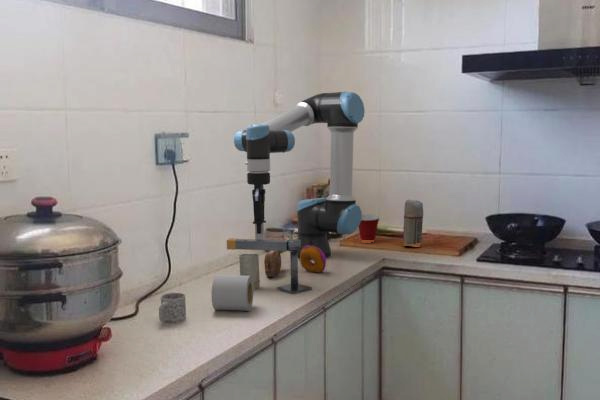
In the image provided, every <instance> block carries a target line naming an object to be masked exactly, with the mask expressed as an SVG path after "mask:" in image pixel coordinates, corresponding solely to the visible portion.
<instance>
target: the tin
mask: <svg viewBox="0 0 600 400" xmlns="http://www.w3.org/2000/svg"><path fill="white" fill-rule="evenodd" d="M263 262H264V273H265V276H266V277H267V278H275V277H277V275H278V274H279V273H280V272H281V269H282V268H281V267H282V256H281V252H280V251H274V250H269V251H268V252H267V253H266V254H265V256H264V261H263Z"/></svg>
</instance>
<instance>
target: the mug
mask: <svg viewBox="0 0 600 400" xmlns="http://www.w3.org/2000/svg"><path fill="white" fill-rule="evenodd" d="M158 319H159V322H161V323H166V324H175V323H180V322H184V321H185V320H187V307H186V294H185V293H182V292H168V293H164V294H162V295H161V296H160V305H159V307H158Z"/></svg>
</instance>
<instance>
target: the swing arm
mask: <svg viewBox="0 0 600 400" xmlns="http://www.w3.org/2000/svg"><path fill="white" fill-rule="evenodd" d="M226 250H232V251H233V250H247V251H248V250H249V251H271V250H274V251H281V252H283V251H284V252H287V251H288V252H290V251H293V252H294V251H300V250H301V240H299V239H297V238H291V239H287V240H285V239H284V240H283V239H264V240H256V239H255V238H254V239H253V238H252V239H249V238H248V239H247V238H231V237H230V238H228V239H227V240H226Z"/></svg>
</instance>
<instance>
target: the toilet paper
mask: <svg viewBox="0 0 600 400" xmlns="http://www.w3.org/2000/svg"><path fill="white" fill-rule="evenodd" d="M254 290H255V289H254V288H253V279H252V277H251V276H240V275H236V274H235V275H232V274H231V275H229V274H227V275H226V274H224V275H223V274H216V275H215V276H214V277H213V280H212V284H211V293H210V294H211V305H212V308H213V309H214V310H215V311H219V310H220V311H224V310H225V311H245V312H246V311H247V312H248V311H249V312H250V311H251V310H252V306H253V303H254V293H255V292H254Z"/></svg>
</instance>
